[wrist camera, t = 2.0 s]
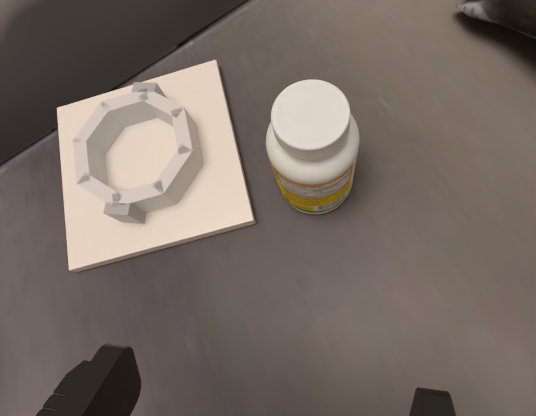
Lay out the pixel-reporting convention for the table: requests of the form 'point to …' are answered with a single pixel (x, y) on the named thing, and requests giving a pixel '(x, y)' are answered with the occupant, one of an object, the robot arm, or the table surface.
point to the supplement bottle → (313, 146)
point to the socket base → (150, 168)
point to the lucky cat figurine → (504, 13)
